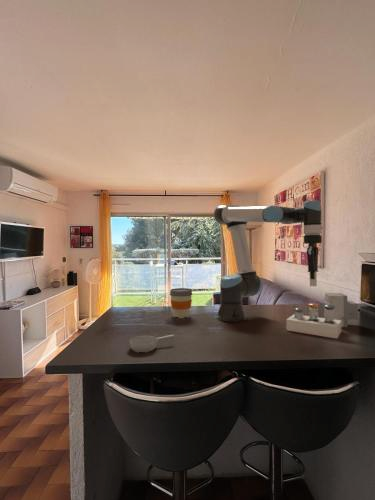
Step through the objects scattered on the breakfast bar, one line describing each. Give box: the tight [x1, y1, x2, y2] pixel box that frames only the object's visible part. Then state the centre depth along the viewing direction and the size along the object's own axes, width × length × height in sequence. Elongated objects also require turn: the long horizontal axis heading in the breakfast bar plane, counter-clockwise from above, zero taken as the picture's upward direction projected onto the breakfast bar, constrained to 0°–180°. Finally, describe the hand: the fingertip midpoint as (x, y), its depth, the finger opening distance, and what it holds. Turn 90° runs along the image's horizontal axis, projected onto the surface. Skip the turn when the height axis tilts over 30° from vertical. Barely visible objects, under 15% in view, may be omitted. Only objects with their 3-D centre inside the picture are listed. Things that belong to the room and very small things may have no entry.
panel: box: [286, 313, 342, 339], centre depth 128 cm, size 21×12×5 cm, turn 54°
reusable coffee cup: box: [169, 287, 193, 319], centre depth 158 cm, size 13×13×15 cm
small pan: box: [129, 334, 175, 353], centre depth 110 cm, size 11×18×4 cm, turn 113°
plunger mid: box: [308, 302, 320, 322], centre depth 128 cm, size 4×4×9 cm
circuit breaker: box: [324, 292, 361, 328], centre depth 137 cm, size 8×14×15 cm, turn 78°
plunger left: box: [293, 307, 305, 320], centre depth 132 cm, size 4×4×9 cm
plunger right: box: [323, 304, 335, 324], centre depth 125 cm, size 4×4×9 cm
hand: (313, 286), depth 128 cm, fingers closed
